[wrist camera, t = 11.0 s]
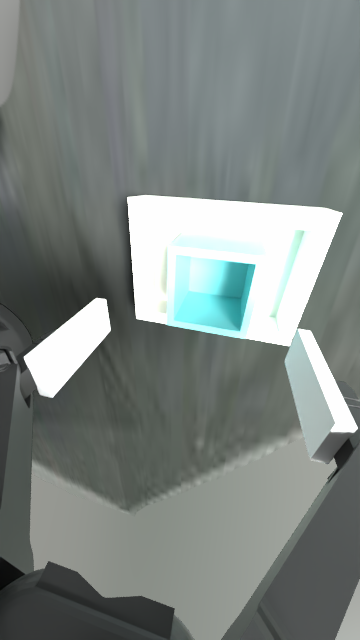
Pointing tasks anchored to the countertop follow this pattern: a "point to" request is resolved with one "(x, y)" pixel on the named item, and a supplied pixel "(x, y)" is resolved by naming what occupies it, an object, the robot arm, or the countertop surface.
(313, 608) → the robot arm
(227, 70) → the countertop surface
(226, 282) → the small crate
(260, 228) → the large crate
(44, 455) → the countertop surface
